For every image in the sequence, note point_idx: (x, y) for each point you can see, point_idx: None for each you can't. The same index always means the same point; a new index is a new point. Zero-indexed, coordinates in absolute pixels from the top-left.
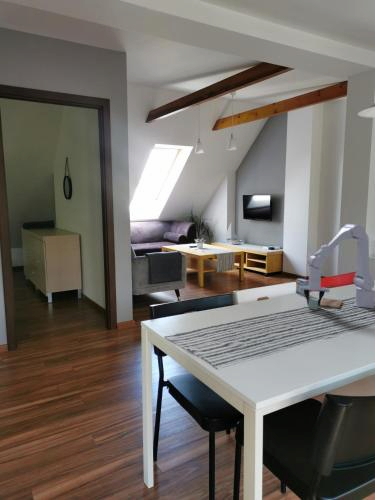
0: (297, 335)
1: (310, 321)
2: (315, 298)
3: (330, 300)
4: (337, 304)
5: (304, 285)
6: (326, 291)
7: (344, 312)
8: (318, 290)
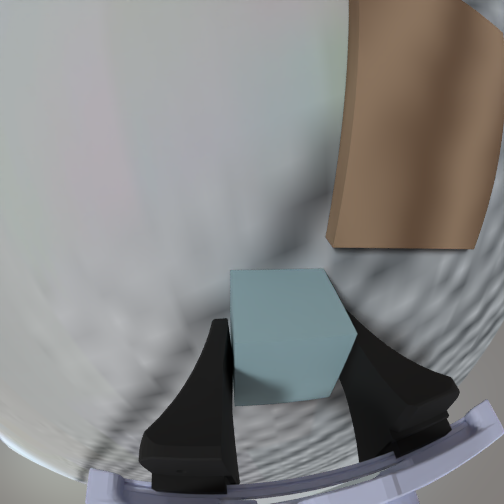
0: None
1: (274, 450)
2: (310, 338)
3: (438, 31)
4: (481, 175)
5: None
6: (454, 433)
7: (461, 302)
8: (374, 472)
